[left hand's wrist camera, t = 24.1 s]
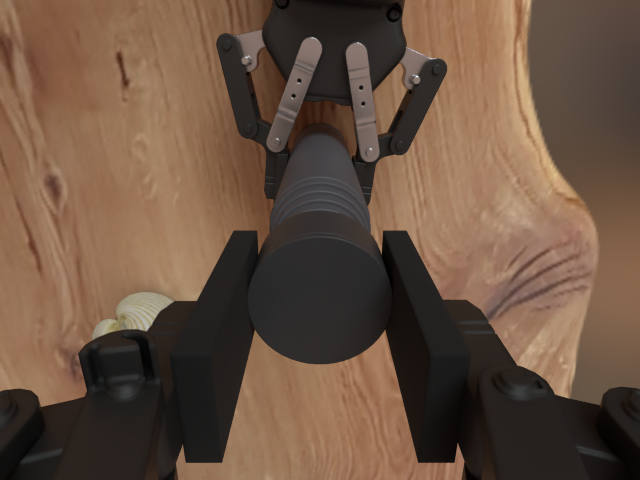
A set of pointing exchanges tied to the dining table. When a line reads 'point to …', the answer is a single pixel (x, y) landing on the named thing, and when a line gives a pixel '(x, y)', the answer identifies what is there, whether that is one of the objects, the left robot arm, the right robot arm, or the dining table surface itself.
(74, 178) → the dining table surface
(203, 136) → the dining table surface
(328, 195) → the bottle
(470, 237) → the dining table surface
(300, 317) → the cap
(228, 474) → the dining table surface
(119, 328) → the seashell
